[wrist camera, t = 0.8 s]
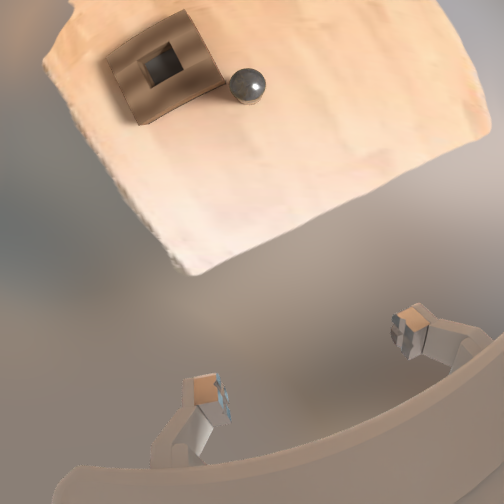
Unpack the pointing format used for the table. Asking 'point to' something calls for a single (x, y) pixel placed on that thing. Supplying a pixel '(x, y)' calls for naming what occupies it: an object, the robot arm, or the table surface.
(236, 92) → the steel rod
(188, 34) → the post block
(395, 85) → the table surface
